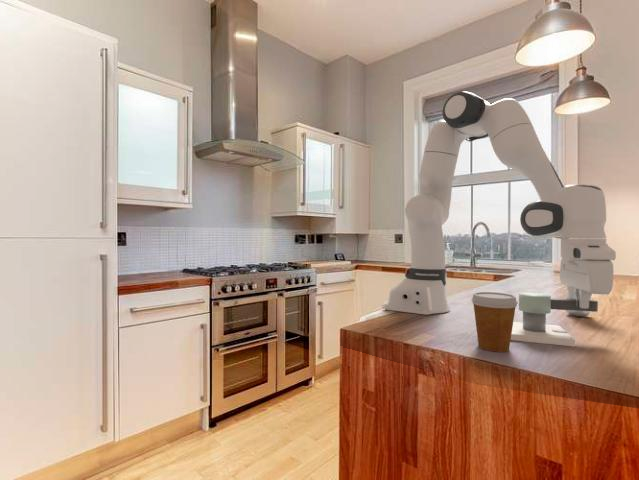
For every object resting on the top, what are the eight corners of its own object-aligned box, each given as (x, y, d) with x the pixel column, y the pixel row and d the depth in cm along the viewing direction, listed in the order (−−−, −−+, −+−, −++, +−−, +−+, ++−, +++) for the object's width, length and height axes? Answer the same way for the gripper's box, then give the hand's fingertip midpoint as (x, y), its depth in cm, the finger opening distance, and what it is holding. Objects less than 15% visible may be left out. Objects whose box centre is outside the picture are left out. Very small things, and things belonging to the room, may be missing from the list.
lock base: (506, 339, 86) (506, 315, 86) (500, 325, 99) (500, 304, 99) (575, 346, 81) (575, 320, 81) (559, 331, 94) (559, 308, 94)
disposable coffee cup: (477, 338, 87) (477, 290, 86) (521, 346, 81) (521, 294, 80) (465, 348, 79) (465, 295, 79) (512, 357, 73) (513, 300, 73)
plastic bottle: (595, 318, 107) (596, 253, 107) (570, 317, 109) (571, 253, 108) (583, 314, 114) (584, 252, 113) (560, 313, 115) (561, 252, 115)
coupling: (523, 312, 87) (523, 296, 87) (515, 307, 94) (515, 292, 94) (604, 317, 83) (604, 300, 83) (590, 311, 89) (590, 295, 89)
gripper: (553, 249, 96) (552, 299, 96) (585, 252, 76) (584, 315, 76) (580, 249, 94) (579, 300, 94) (620, 252, 74) (619, 317, 74)
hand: (582, 307), depth 85 cm, fingers closed
